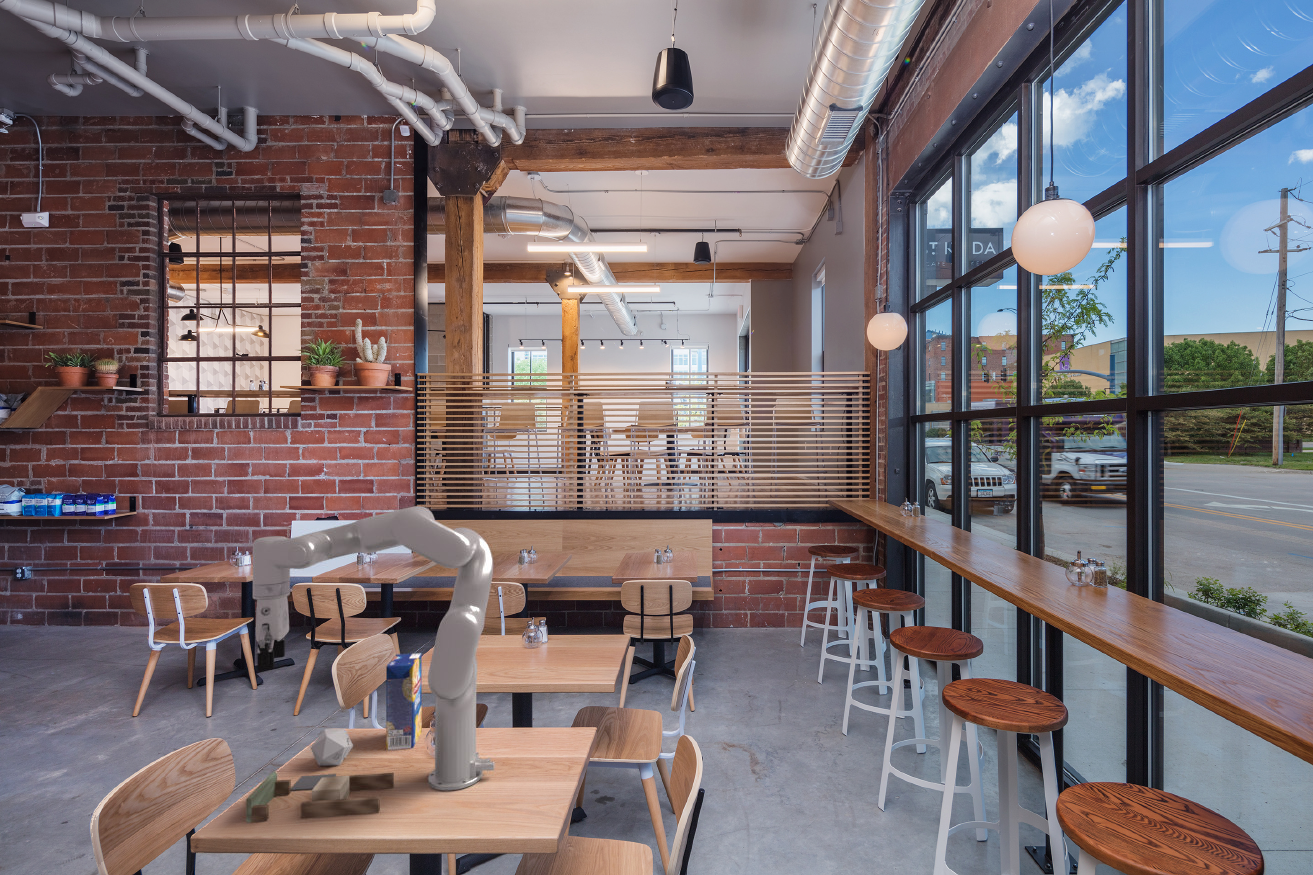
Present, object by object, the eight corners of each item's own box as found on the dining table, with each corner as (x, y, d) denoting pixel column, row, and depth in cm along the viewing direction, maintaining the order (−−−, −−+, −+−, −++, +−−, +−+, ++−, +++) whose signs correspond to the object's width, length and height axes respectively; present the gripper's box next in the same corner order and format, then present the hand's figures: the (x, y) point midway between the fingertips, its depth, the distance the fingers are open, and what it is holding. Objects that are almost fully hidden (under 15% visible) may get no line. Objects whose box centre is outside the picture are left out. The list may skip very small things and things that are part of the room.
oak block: (349, 795, 150) (349, 775, 151) (340, 809, 144) (340, 788, 145) (321, 797, 150) (321, 777, 150) (311, 811, 144) (311, 790, 144)
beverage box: (421, 731, 185) (421, 652, 186) (413, 748, 174) (413, 664, 175) (396, 732, 184) (396, 654, 185) (386, 750, 173) (386, 666, 174)
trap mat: (336, 774, 160) (336, 773, 160) (325, 788, 153) (325, 787, 153) (301, 777, 159) (301, 776, 159) (289, 790, 152) (289, 789, 152)
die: (324, 777, 160) (351, 738, 164) (296, 756, 162) (324, 718, 165) (339, 774, 168) (365, 737, 171) (313, 754, 170) (339, 718, 173)
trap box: (393, 785, 154) (393, 763, 155) (378, 812, 143) (378, 789, 143) (272, 793, 151) (272, 771, 151) (246, 822, 139) (246, 798, 139)
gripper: (280, 595, 146) (280, 673, 145) (297, 582, 162) (298, 651, 162) (241, 598, 144) (241, 677, 143) (263, 584, 160) (263, 654, 160)
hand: (271, 663), depth 153 cm, fingers open, 9 cm apart
